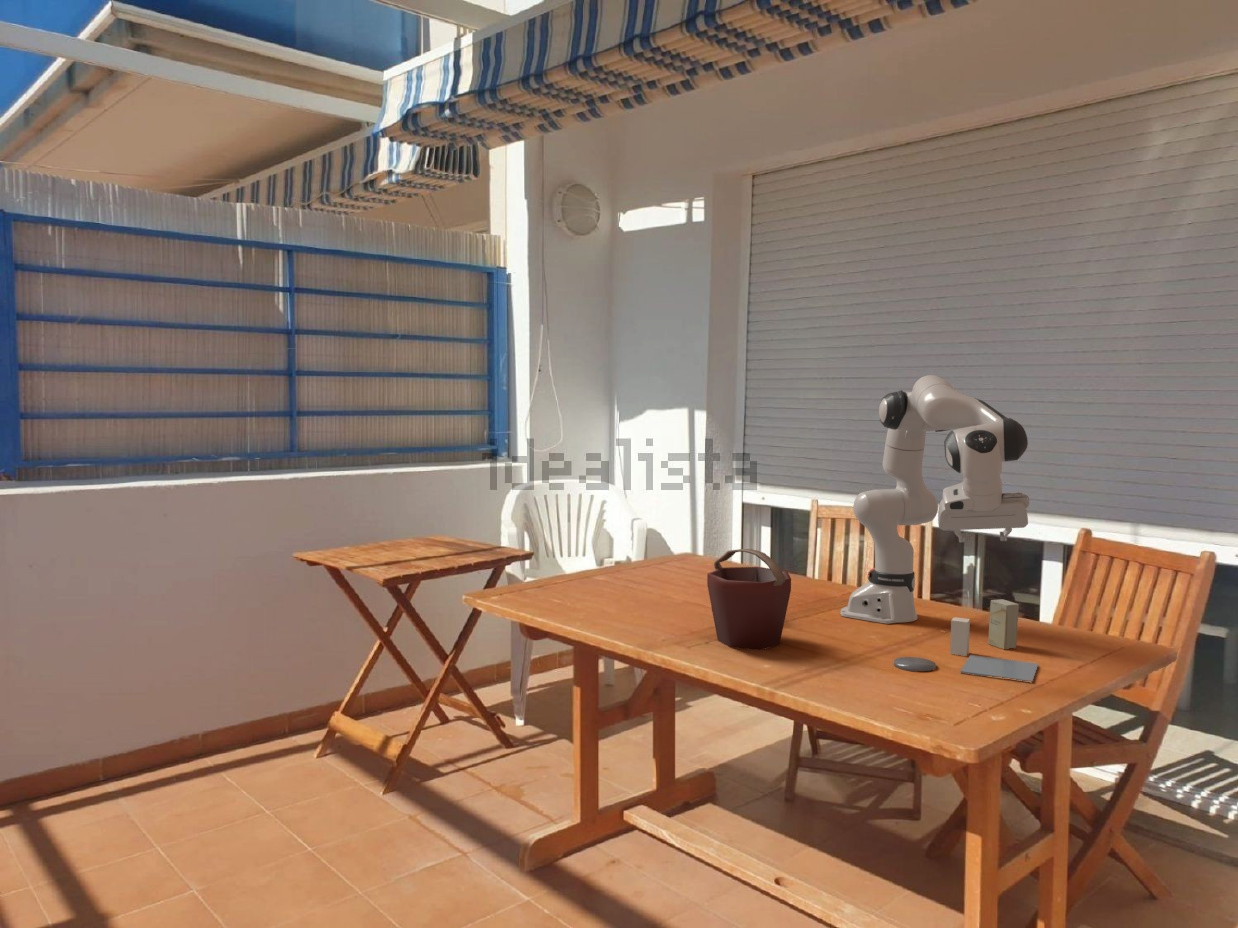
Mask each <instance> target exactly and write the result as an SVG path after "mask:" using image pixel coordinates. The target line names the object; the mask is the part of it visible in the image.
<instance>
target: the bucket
mask: <svg viewBox="0 0 1238 928" xmlns="http://www.w3.org/2000/svg"><path fill="white" fill-rule="evenodd" d="M741 552H742V553H747V554H751V555H754V556H755V557H757V558H759V559H760V560H761V561H762V562H763V563H764V564H765V565H766V566H767V567H763V566H739V567H737V566H735V567H733V566H730V567H727V566H726V567H725V566H724V567H723V566H722V565H721V563H723V562H726V561H728V560H729V559H730V558H732V557H733V556H734V555H735V554H736V553H741ZM713 566H714V567H713V568H714V569H715V570H713V571H711V572H708V573H707V575H706V576H707V578H706V579H707V583H706V585H707V591H708V595H709V600H710V602H709V603H710V606H711V613H712V617H713V622H714V628H715V633H716V639H717V641H718V642H719V643H721V644H723V645H724V646H727V647H729V648H732V649H740V648H741V650H752V651H753V650H754V651H761V650H766V649H771V648H775V647H780V644H781V641H782V640H781V639H782V635H783V630H784V627H785V626H784V625H785V620H786V615H787V611H788V606H789V600H790V597H791V591H792V578H791V576H790V573H789V571H786V570H782V569H781V567H780V566H779V564H778V563H777V562H775V560H774V559H772V558H771V557H770V556H769V555H768V554H766V553H765V552H762V551H760V550H757V549H752V548H740V549H730V550H727V551H726V552H724V554H722V555H721V556H720V557H719V558H717V559H716V560H715V561H714V563H713ZM765 648H766V649H765Z"/></svg>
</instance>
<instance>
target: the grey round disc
mask: <svg viewBox="0 0 1238 928" xmlns="http://www.w3.org/2000/svg"><path fill="white" fill-rule="evenodd" d="M893 666H894V667H896V668H897V667H898V669H899V670H904V671H909V672H914V671H928V672H932V671H931V670H933V669H935V668H936V669H937V664H936V662H934V661H933V660H930V659H927V658H924V657H917V656H902V657H897V658H894V660H893ZM933 671H934V670H933Z"/></svg>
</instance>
